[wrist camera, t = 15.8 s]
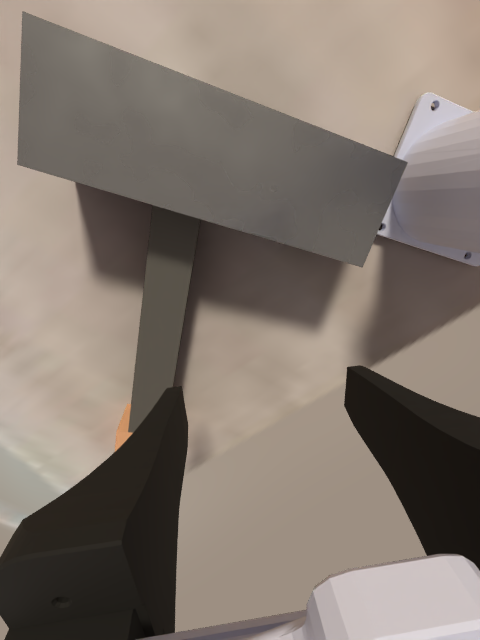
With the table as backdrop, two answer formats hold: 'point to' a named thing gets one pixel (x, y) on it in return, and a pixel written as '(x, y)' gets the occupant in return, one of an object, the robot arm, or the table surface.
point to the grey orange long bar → (160, 313)
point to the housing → (195, 147)
